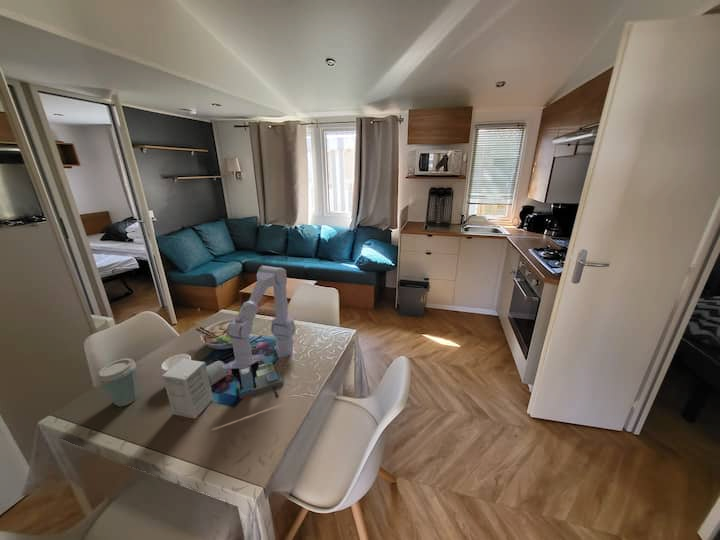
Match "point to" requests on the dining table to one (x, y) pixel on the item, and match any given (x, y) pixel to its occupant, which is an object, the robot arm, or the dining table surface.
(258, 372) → the tray
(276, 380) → the grey busybox board
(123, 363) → the disposable coffee cup
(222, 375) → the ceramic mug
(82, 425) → the dining table surface
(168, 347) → the dining table surface
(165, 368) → the cup
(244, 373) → the plug
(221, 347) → the ramen bowl
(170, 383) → the supplement box
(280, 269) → the robot arm
